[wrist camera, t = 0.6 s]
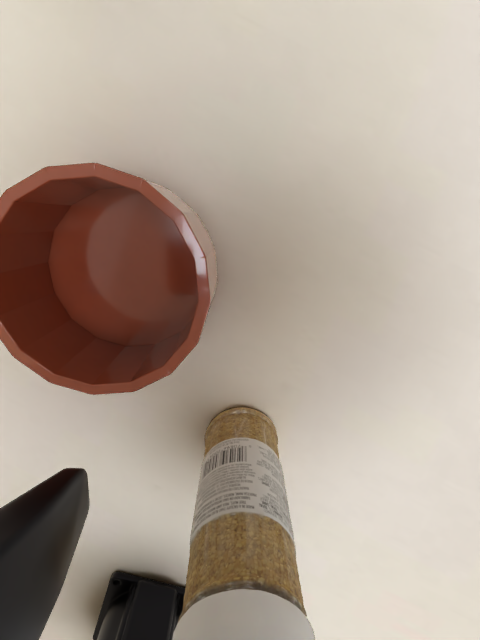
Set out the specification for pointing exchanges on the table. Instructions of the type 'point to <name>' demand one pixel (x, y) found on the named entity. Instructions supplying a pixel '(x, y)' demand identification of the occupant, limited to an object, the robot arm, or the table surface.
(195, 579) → the sprinkles bottle
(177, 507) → the table surface
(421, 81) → the table surface
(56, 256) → the cup
